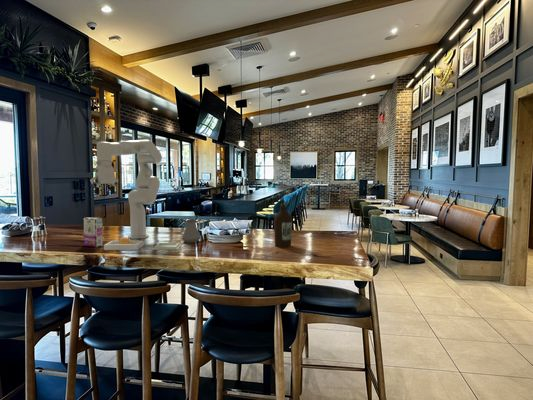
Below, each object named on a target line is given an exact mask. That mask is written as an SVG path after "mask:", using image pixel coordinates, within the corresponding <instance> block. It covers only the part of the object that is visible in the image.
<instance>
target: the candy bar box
mask: <svg viewBox="0 0 533 400" xmlns="http://www.w3.org/2000/svg"><path fill="white" fill-rule="evenodd" d="M103 229H104V226H103V218H101V217H92V216H91V217H84V218H83V242H84V243H83V244H84V245H83V246H86V247H94V248H99V247H104V230H103Z"/></svg>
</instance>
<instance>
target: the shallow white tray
mask: <svg viewBox="0 0 533 400" xmlns="http://www.w3.org/2000/svg"><path fill="white" fill-rule="evenodd" d="M144 245H145V241H144V240H138V239H134V240H133V239H131V240H130V244H119V240H111V241H109V242H107V243H105V244H103V249H104V251H138V250H139V249H141V248H143V247H144Z"/></svg>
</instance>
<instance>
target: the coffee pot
mask: <svg viewBox="0 0 533 400" xmlns="http://www.w3.org/2000/svg"><path fill="white" fill-rule="evenodd" d="M198 218H199V214H197V215H196V216H195V218H194V220H186V221H185V223H186V226H185V228H184V231H183V233H182V236H181V239H182V240H183V242H184V243H186V244H187V243H189V244H191V243H192V244H194V243H197V241H200V239H201V234H200V232H199V230H198V227H197V225H196V224H197V219H198Z"/></svg>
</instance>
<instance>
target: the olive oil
mask: <svg viewBox="0 0 533 400" xmlns="http://www.w3.org/2000/svg"><path fill="white" fill-rule="evenodd" d="M279 209H280V210H279V211H278V212H277V213H276V214H275V216H274V219H273V227H274V247H276V248H281V249H282V248H290V247H291V246H292V239H293V238H292V229H293V217H292V215H291V214H290V213H289V212H288V210H287V203H280V207H279Z"/></svg>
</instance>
